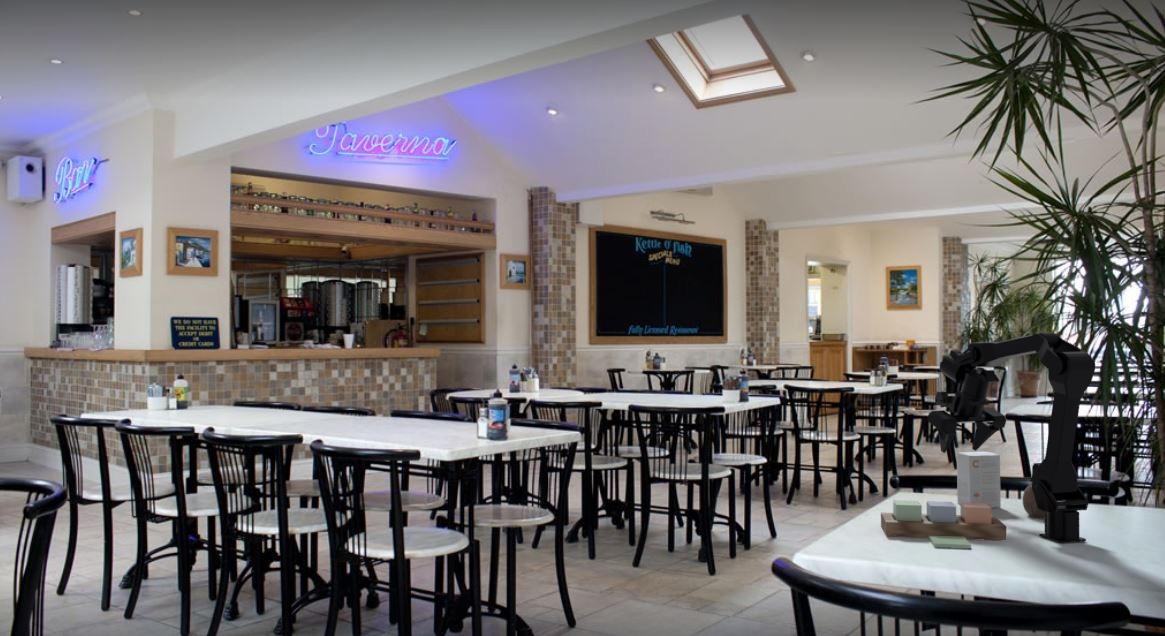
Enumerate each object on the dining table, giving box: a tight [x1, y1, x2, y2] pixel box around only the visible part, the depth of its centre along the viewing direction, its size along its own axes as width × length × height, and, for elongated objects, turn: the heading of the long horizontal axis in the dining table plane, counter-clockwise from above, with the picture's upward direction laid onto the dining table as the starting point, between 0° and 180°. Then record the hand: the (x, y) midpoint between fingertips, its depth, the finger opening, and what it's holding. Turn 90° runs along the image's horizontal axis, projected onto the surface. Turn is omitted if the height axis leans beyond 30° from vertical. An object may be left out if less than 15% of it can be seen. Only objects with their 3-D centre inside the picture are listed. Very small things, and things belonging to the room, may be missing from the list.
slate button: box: [926, 500, 957, 523], centre depth 200 cm, size 5×5×4 cm
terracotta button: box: [960, 502, 992, 524], centre depth 199 cm, size 5×5×4 cm
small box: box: [956, 451, 1002, 509], centre depth 229 cm, size 8×6×13 cm
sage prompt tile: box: [928, 536, 972, 549], centre depth 191 cm, size 7×7×1 cm
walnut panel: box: [880, 512, 1007, 541], centre depth 200 cm, size 24×10×3 cm, turn 78°
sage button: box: [892, 499, 923, 521], centre depth 202 cm, size 5×5×4 cm
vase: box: [1022, 482, 1045, 519], centre depth 217 cm, size 7×7×9 cm
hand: (958, 450), depth 224 cm, fingers open, 9 cm apart
